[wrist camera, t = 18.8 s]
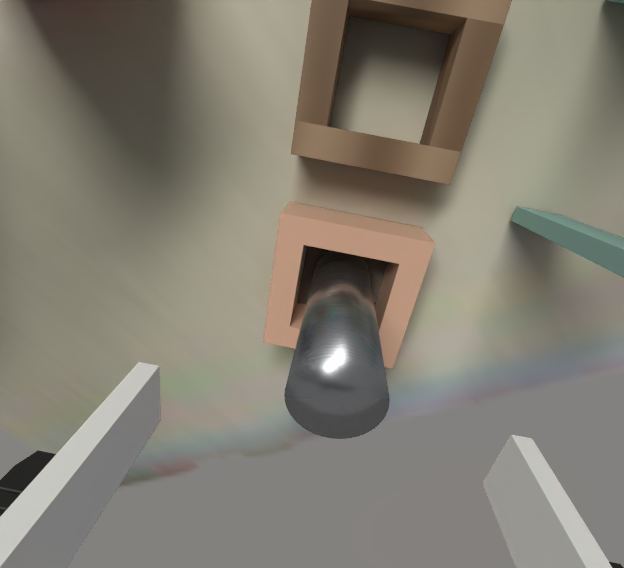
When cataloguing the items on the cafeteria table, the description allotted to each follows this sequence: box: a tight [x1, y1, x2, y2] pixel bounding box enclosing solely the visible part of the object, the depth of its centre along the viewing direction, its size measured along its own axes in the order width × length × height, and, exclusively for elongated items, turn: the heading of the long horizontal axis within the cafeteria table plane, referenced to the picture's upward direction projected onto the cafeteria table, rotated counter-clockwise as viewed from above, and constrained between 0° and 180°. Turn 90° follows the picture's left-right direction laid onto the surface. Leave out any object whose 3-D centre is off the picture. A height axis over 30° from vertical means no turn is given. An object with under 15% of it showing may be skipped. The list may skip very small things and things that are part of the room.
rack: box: [263, 202, 435, 369], centre depth 25 cm, size 10×10×4 cm
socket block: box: [291, 0, 512, 185], centre depth 20 cm, size 10×10×3 cm
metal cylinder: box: [285, 251, 389, 439], centre depth 20 cm, size 4×4×14 cm
